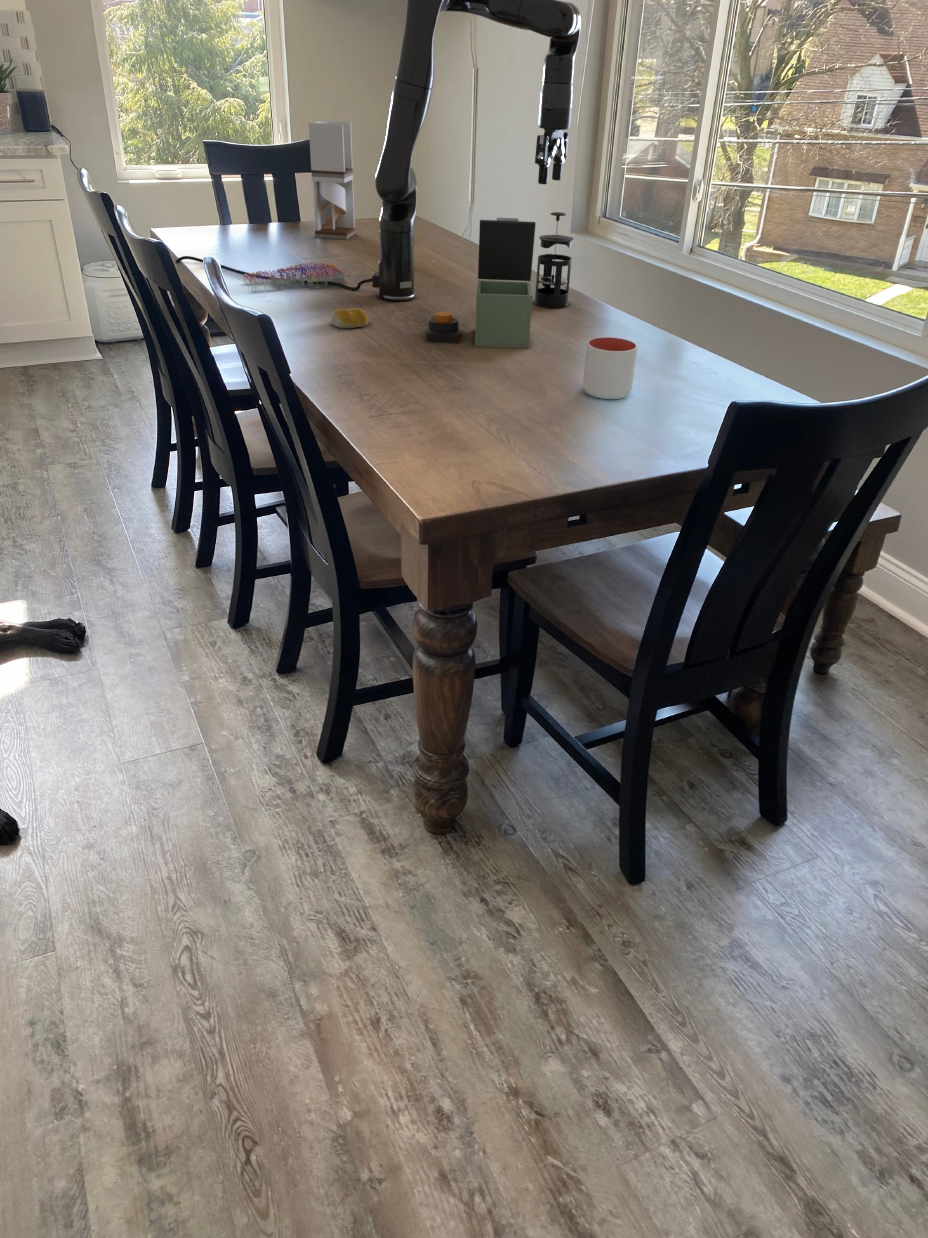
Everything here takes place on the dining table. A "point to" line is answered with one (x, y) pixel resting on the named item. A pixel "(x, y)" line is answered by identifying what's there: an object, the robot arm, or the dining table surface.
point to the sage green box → (503, 314)
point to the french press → (555, 295)
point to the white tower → (332, 178)
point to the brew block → (443, 331)
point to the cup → (609, 367)
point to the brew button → (443, 317)
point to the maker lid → (506, 249)
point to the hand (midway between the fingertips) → (549, 181)
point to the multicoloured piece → (288, 279)
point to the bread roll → (349, 318)
